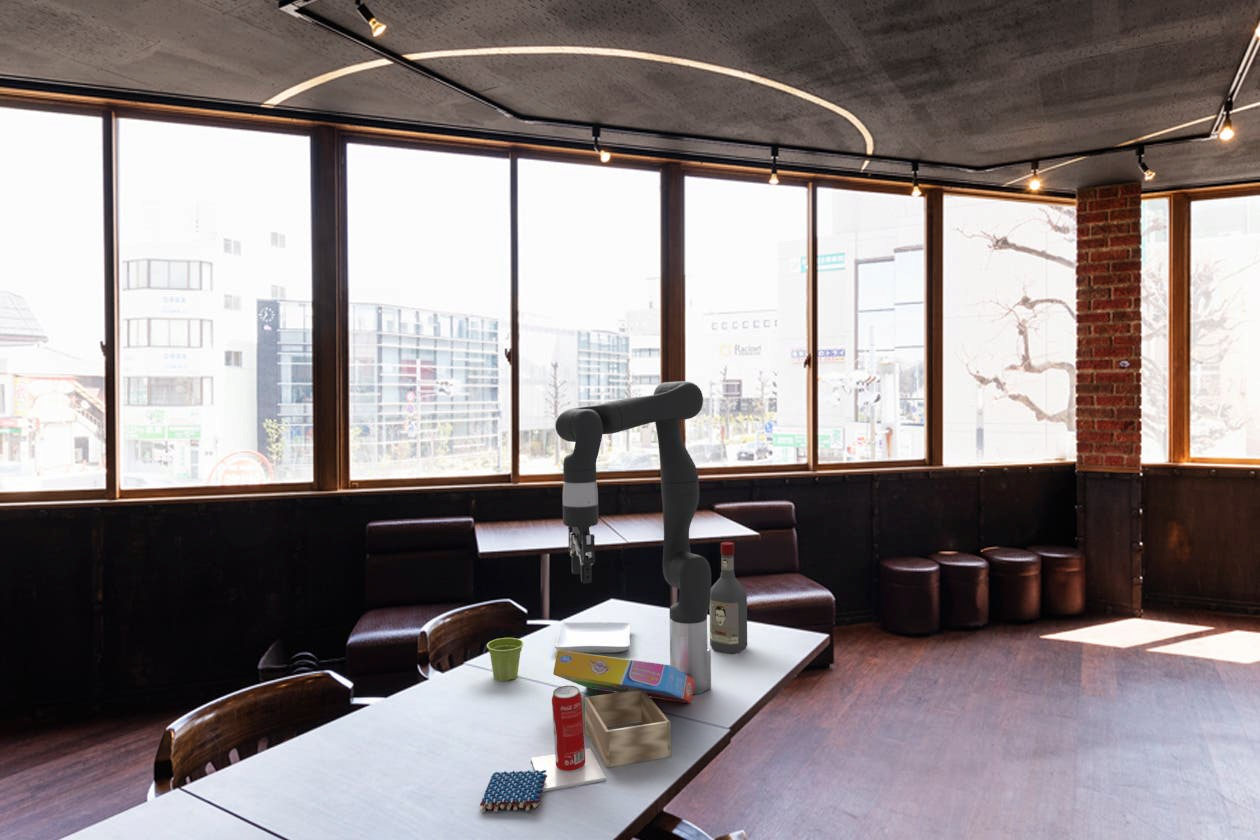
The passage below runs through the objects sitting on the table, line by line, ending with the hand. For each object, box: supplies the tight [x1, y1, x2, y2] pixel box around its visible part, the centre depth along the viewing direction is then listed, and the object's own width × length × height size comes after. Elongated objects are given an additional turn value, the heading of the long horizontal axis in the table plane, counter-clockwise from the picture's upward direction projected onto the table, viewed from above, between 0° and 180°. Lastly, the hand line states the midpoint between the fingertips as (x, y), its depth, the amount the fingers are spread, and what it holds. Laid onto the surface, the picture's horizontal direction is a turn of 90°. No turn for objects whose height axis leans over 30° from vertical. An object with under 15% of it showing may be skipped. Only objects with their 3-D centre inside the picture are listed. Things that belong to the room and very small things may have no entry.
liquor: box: [709, 541, 748, 655], centre depth 204 cm, size 9×9×30 cm
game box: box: [553, 650, 694, 704], centre depth 165 cm, size 21×6×27 cm
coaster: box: [530, 748, 607, 793], centre depth 138 cm, size 12×12×1 cm
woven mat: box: [479, 769, 547, 814], centre depth 129 cm, size 10×11×2 cm
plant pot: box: [486, 637, 524, 682], centre depth 185 cm, size 9×9×9 cm
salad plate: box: [553, 621, 632, 654], centre depth 210 cm, size 21×21×3 cm
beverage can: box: [551, 685, 586, 772], centre depth 138 cm, size 6×6×15 cm
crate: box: [584, 689, 671, 769], centre depth 149 cm, size 13×17×7 cm
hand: (581, 578), depth 154 cm, fingers open, 8 cm apart
